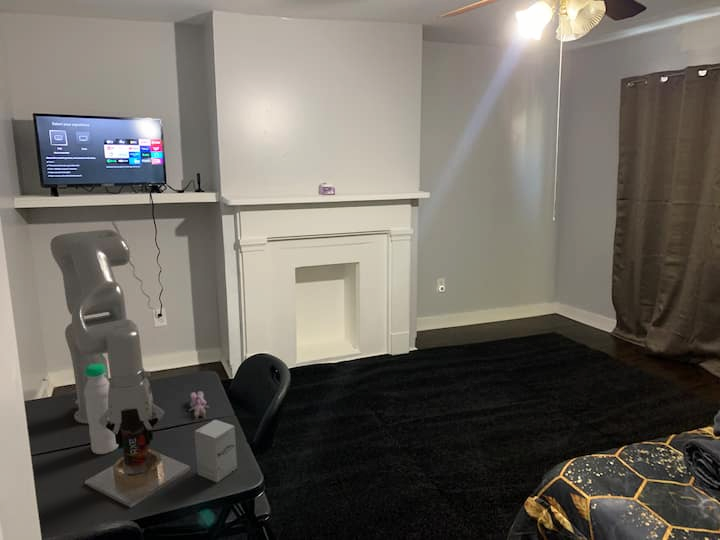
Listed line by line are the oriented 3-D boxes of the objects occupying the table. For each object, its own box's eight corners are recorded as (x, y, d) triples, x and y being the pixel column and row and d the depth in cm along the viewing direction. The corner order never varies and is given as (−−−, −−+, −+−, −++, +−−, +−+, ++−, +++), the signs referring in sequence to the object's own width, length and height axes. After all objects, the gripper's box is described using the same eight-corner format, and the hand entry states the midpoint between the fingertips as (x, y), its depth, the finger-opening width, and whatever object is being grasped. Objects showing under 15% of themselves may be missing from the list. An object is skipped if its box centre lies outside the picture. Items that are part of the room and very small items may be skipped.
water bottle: (86, 452, 153) (74, 369, 147) (105, 440, 159) (95, 359, 154) (105, 457, 150) (94, 372, 145) (124, 444, 157) (114, 362, 151)
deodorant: (127, 469, 136) (120, 413, 133) (122, 458, 141) (115, 404, 137) (151, 461, 139) (145, 407, 136) (146, 450, 144) (140, 398, 141)
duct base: (85, 484, 138) (83, 470, 137) (146, 450, 153) (144, 437, 152) (130, 507, 129) (129, 492, 128) (190, 469, 144) (189, 456, 143)
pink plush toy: (211, 421, 172) (206, 394, 185) (210, 405, 170) (205, 379, 183) (190, 425, 170) (186, 398, 183) (189, 409, 168) (185, 382, 181)
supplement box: (217, 483, 138) (213, 438, 135) (197, 474, 142) (193, 430, 139) (238, 469, 144) (235, 425, 141) (218, 461, 148) (214, 418, 145)
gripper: (165, 368, 141) (172, 432, 145) (93, 375, 137) (102, 441, 141) (162, 380, 133) (169, 447, 137) (85, 388, 130) (95, 456, 134)
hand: (135, 443), depth 139 cm, fingers closed on deodorant, 5 cm apart
